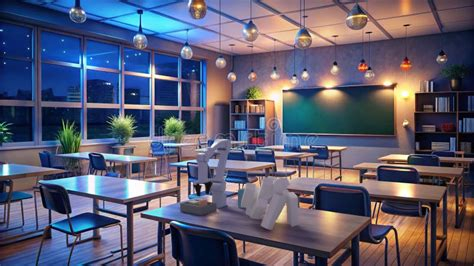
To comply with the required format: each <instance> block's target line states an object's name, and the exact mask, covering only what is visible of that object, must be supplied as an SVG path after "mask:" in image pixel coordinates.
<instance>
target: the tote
mask: <svg viewBox="0 0 474 266" xmlns="http://www.w3.org/2000/svg"><path fill="white" fill-rule="evenodd" d="M193 200H195V201H199V200H200V199H191V200H188V201H183V202H180V203H179V211H180V212H183V213H186V214H190V215H196V216H199V217H201V216H202V217H203V216H206V215H208V214H209V215H210V214H213V213H215V212H217V209H218V208H217V203H213V202H212V201H207V205H206V206H202V207H199V206H194V205H189V204H188V202H189V201H193Z"/></svg>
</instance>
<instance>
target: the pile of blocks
mask: <svg viewBox="0 0 474 266" xmlns="http://www.w3.org/2000/svg"><path fill="white" fill-rule="evenodd" d="M245 183H246V184H245V187H244V188H245V190H244V194H243V197H242V202H241V207H245V208H246V209H245V213H244V214H246V215H247V216H249V218H250V219H253V220H261V218H262V217H263V218H262V221H261V224H260V227H263V228H265V229H266V230H271V231H272V230H273V229H274V227H275V223H276V221H278V219H279V217H280V215H281V214H282V211H283V210H284V208H286V222H287V223H288V224H289V225H290V226H291V227H292V228H293V227H296V226H298V225H299V224H300V223H299V220H300V219H299V197H298V195H297V194H296V193H295V192H294V191H291V192H290V191H289V190H288V189H287V188H288V187H289V186H290V185H291V183H290V181H289V179H288V178H287V177H281V176H280V177H279V178H277V177H276V176H271V175H268V176H267V177H265V176H263V177H262V180H261V183H260V187H258V186H257V184H256V183H252V182H245ZM285 206H286V207H285ZM264 213H265V214H264ZM263 215H264V216H263Z"/></svg>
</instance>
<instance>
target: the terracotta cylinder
mask: <svg viewBox="0 0 474 266" xmlns="http://www.w3.org/2000/svg"><path fill="white" fill-rule="evenodd" d="M198 200H199V207H202V206H206V205H207V202H208V199H206V198H200V199H198Z"/></svg>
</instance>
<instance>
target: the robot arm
mask: <svg viewBox="0 0 474 266" xmlns="http://www.w3.org/2000/svg"><path fill="white" fill-rule="evenodd" d="M231 147H232V142H231V139H229V138H227V139H225V138H216V139H214V141H213V144H211V146H207V147H206V148H205V149H203V150H202V151H201V152H199V153H197V154H196V157H195V160H196V164H197V171H198V172H197V179H196V180H194V181H192V187H193V188H194V189H195V193H196V197H201V195H202V194H201V192H202V191H201V190H202V184H204V188H205V189H204V190H205V195H209V194H210V193H211V202H213V203H217V209H221V208H223V207H227V206H228V204H227V194H226V189H227V182H226V180H225V179H224V175H225V171H226V170H225V169H226V166H227V162H228V156H229V154H230V151H231ZM216 151H217V153H219V158H218V162H217V167H216V172H215V175H214V177H212V178H208V176H209V174H208V173H209V168H208V163H209V161H210V160H211V158H212V156H213V155H214V154H215V152H216Z"/></svg>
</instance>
